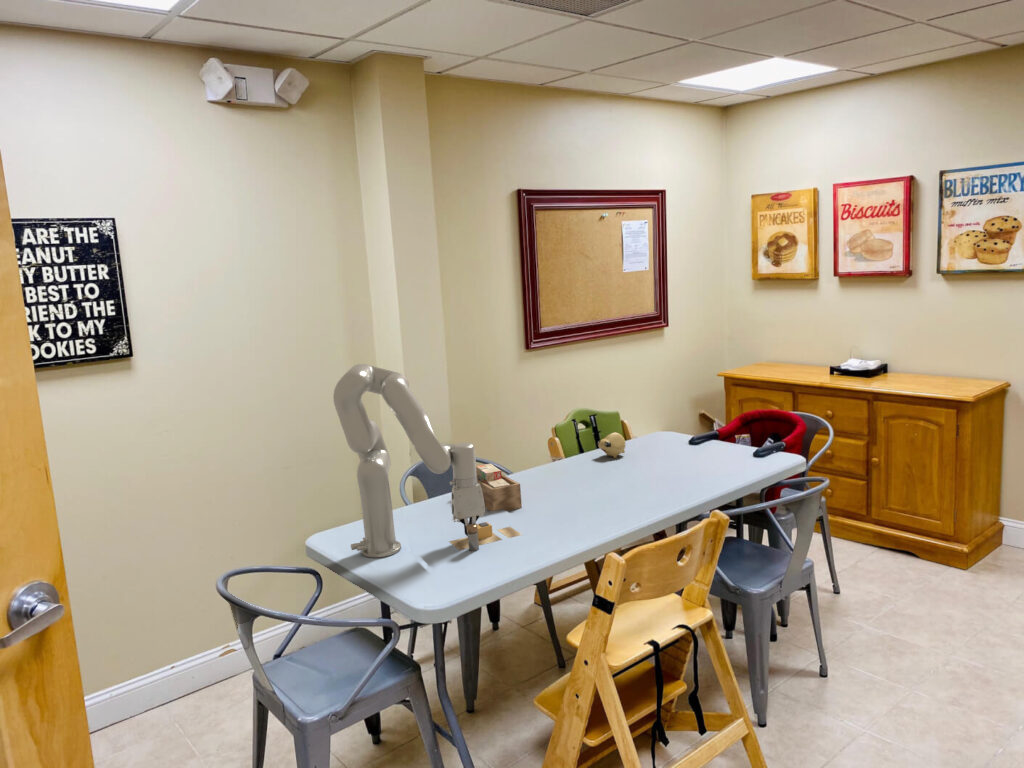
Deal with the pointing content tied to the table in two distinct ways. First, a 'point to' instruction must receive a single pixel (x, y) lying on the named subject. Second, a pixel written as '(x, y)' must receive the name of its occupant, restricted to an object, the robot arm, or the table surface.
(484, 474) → the stack of blocks
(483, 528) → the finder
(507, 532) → the board
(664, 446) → the table surface
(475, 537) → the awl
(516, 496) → the block caddy
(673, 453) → the table surface
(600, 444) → the toy pig
